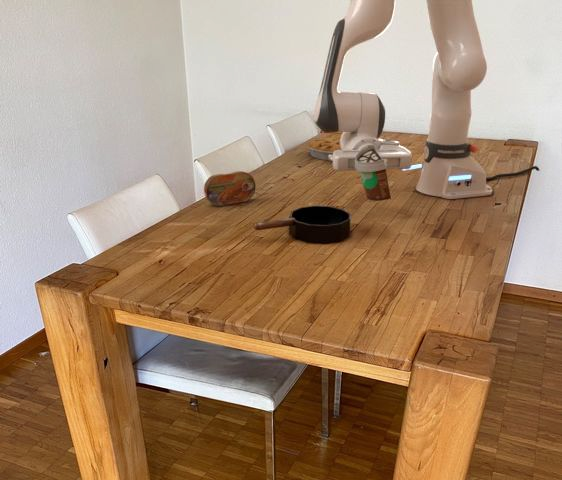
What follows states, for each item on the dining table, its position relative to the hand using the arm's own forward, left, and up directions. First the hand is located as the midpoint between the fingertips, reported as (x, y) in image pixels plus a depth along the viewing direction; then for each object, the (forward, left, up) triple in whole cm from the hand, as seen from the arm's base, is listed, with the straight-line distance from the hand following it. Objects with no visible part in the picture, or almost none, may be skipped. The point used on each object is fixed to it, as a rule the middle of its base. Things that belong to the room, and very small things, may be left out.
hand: (379, 168), depth 142 cm
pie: (-6, -77, -15) cm, 79 cm away
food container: (+1, +2, -6) cm, 7 cm away
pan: (+20, +4, -15) cm, 25 cm away
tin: (+36, -24, -15) cm, 46 cm away
